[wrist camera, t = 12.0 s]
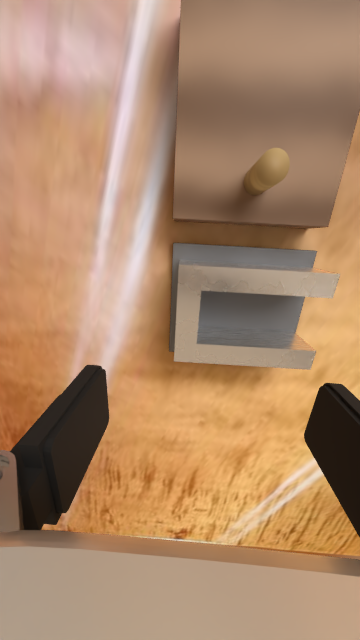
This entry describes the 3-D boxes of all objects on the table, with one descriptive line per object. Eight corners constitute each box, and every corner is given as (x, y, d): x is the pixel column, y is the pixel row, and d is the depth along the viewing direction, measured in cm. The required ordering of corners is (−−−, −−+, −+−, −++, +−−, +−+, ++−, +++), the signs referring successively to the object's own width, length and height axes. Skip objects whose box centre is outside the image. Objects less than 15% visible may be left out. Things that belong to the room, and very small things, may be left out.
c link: (310, 267, 21) (340, 274, 17) (289, 347, 25) (310, 369, 20) (180, 259, 22) (178, 264, 17) (175, 340, 25) (173, 361, 21)
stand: (308, 228, 21) (359, 224, 15) (174, 220, 21) (169, 213, 15) (358, 22, 16) (466, -113, 10) (182, 13, 16) (181, -126, 10)
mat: (286, 355, 26) (288, 358, 25) (169, 348, 26) (169, 351, 25) (313, 250, 21) (316, 251, 21) (173, 242, 22) (173, 242, 21)
